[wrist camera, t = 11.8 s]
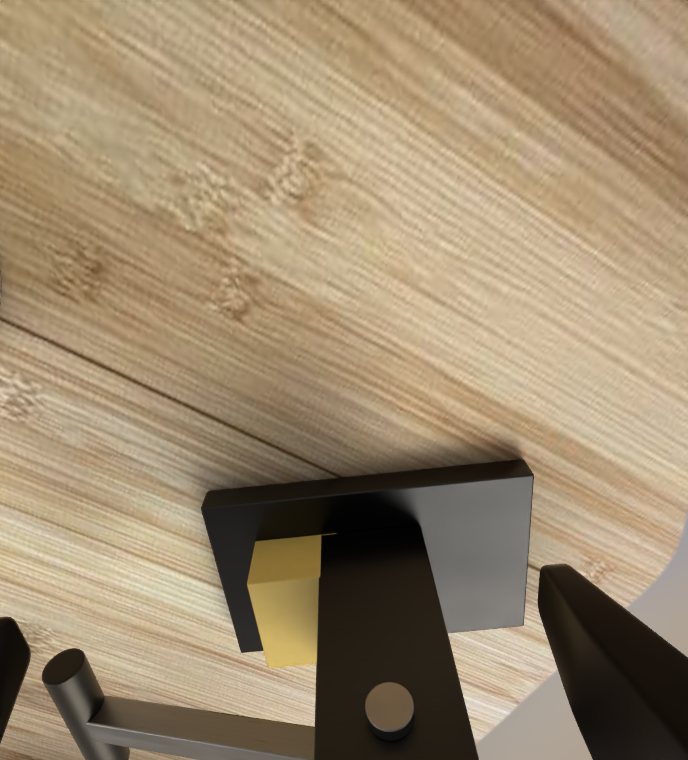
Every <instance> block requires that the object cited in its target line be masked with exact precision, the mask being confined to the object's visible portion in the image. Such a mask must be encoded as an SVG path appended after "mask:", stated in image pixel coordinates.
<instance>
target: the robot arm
mask: <svg viewBox="0 0 688 760" xmlns="http://www.w3.org/2000/svg"><path fill="white" fill-rule="evenodd" d="M538 608H539V613H540V617H541V620H542V623H543V626H544V629H545V632H546V635H547V638H548V641H549V644H550V647H551V650H552V653H553V656H554V659H555V662H556V665H557V668H558V671H559V674H560V677H561V680H562V683H563V686H564V689H565V692H566V695H567V698H568V700H569V704H570V707H571V709H572V712H573V715H574V717H575V719H576V722H577V724H578V727H579V729H580V732H581V734H582V736H583V738H584V740H585V743H586V745H587V747H588V749H589V752H590V754H591V756H592V759H593V760H688V657H686V656H685V655H684V654H682V653H681V652H680V651H678V650H677V649H676V648H675V647H673V646H672V645H671V644H670V643H668V642H667V641H666V640H664V639H663V638H662V637H661V636H659V635H658V634H657V633H656V632H654V631H653V630H652V629H650V628H649V627H648V626H647V625H645V624H644V623H643V622H641V621H640V620H639V619H638V618H636V617H635V616H634V615H632V614H631V613H630V612H629V611H627V610H626V609H625V608H623V607H622V606H621V605H620V604H618V603H617V602H616V601H614V600H613V599H612V598H611V597H609V596H608V595H607V594H605V593H604V592H603V591H602V590H600V589H599V588H598V587H596V586H595V585H594V584H593V583H591V582H590V581H589V580H588V579H586V578H585V577H584V576H582V575H581V574H580V573H579V572H577V571H576V570H575V569H573V568H572V567H571V566H569V565H567V564H554V565H545V566H543V567H542V568H541V570H540V578H539V591H538ZM30 657H31V652H30V647H29V645H28V643H27V641H26V640H25V638H24V636H23V634H22V632H21V630H20V628H19V627H18V625H17V623H16V621H15V620H14V619H13V618H11V617H0V743H1V740H2V737H3V734H4V732H5V729H6V726H7V723H8V721H9V718H10V715H11V712H12V710H13V707H14V704H15V701H16V699H17V696H18V693H19V691H20V688H21V685H22V682H23V680H24V677H25V674H26V671H27V669H28V666H29V662H30Z"/></svg>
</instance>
